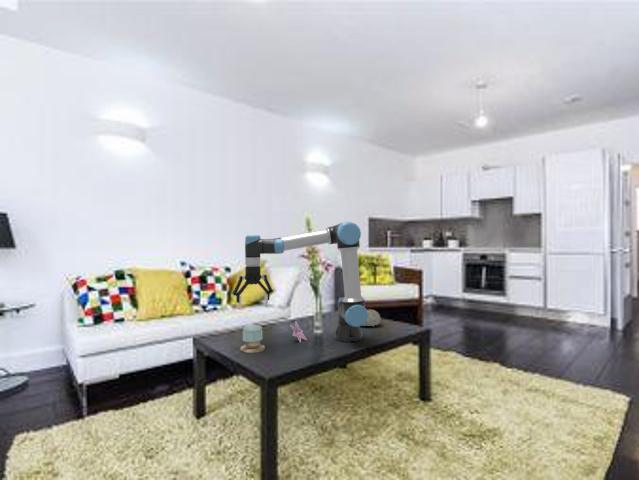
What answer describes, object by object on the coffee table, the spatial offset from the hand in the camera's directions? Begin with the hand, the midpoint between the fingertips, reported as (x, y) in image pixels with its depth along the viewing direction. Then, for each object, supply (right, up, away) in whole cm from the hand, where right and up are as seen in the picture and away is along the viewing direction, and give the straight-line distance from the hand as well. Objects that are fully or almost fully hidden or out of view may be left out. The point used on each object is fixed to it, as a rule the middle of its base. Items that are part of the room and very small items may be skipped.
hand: (253, 308), depth 186 cm
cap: (0, -16, 0) cm, 16 cm away
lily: (+21, -21, +16) cm, 34 cm away
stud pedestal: (0, -21, 0) cm, 21 cm away
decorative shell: (+64, -21, +53) cm, 86 cm away
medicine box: (-4, -21, +14) cm, 26 cm away
